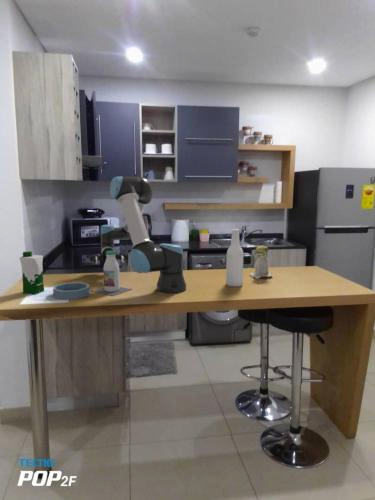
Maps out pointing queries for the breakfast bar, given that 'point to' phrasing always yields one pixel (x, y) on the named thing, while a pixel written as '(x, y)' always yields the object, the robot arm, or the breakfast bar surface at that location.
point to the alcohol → (234, 261)
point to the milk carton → (32, 273)
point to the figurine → (261, 263)
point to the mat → (111, 292)
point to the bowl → (71, 291)
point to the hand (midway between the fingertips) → (110, 261)
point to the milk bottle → (111, 273)
